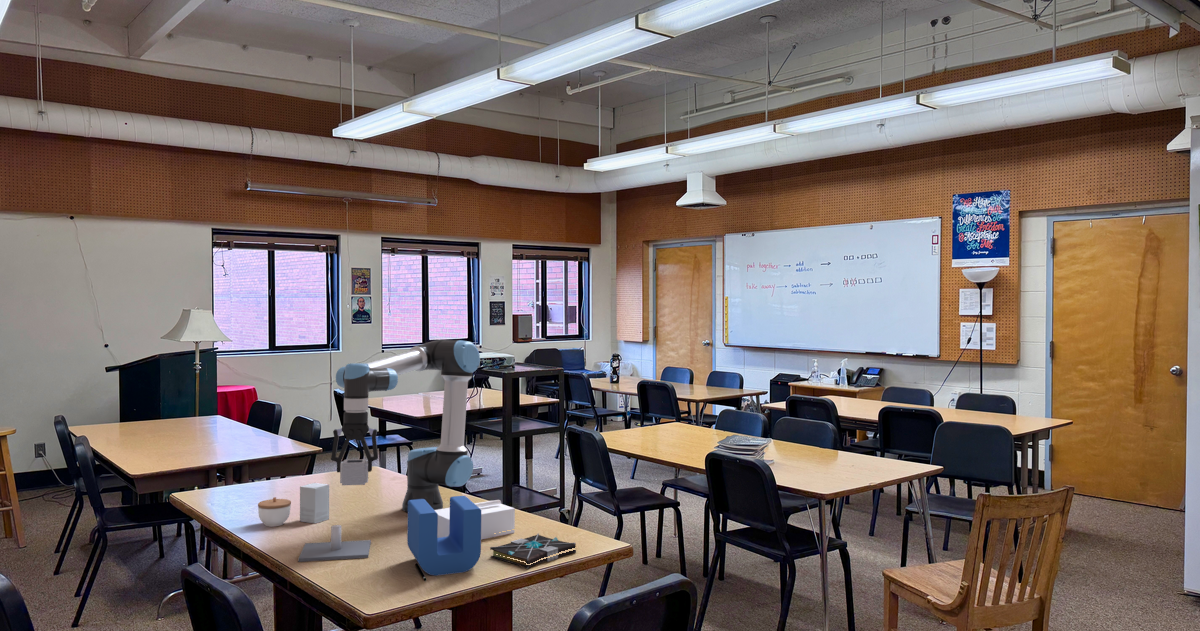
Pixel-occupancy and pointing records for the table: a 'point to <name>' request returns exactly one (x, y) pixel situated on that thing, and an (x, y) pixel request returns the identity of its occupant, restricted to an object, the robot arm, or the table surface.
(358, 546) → the plate
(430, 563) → the block
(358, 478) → the block
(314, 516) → the supplement box
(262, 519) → the lidded jar
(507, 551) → the book
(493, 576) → the table surface
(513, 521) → the tissue box
